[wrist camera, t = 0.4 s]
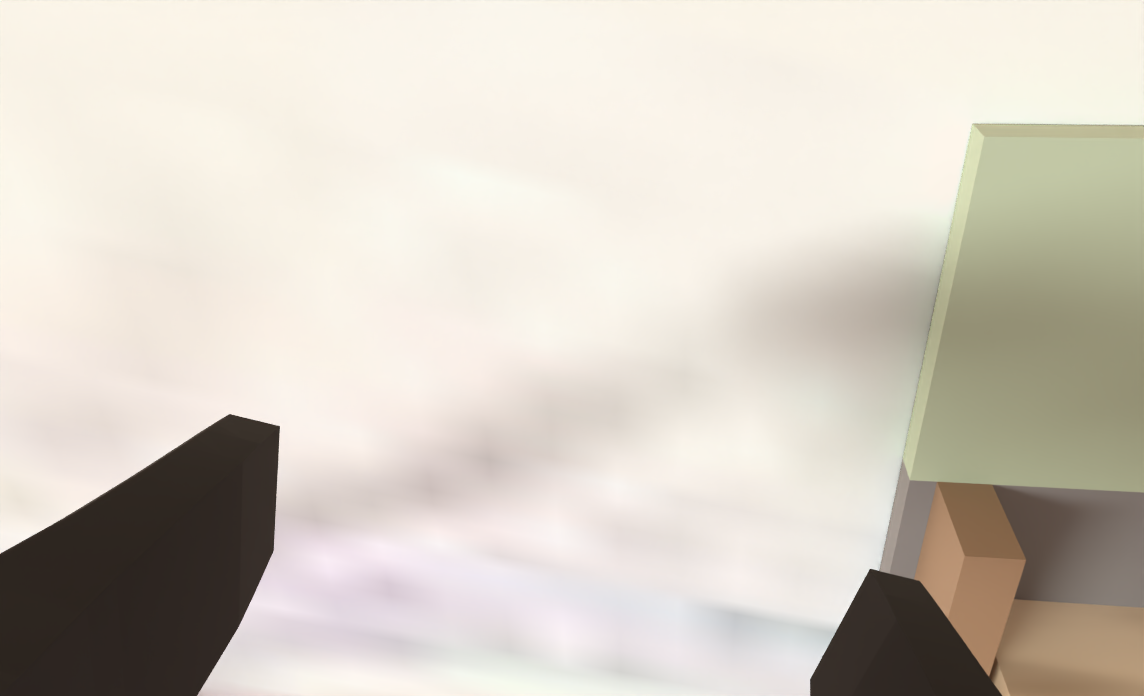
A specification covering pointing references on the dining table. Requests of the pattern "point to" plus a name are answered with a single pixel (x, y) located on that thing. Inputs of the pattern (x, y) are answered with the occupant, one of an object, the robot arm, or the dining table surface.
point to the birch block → (1070, 650)
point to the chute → (1031, 385)
